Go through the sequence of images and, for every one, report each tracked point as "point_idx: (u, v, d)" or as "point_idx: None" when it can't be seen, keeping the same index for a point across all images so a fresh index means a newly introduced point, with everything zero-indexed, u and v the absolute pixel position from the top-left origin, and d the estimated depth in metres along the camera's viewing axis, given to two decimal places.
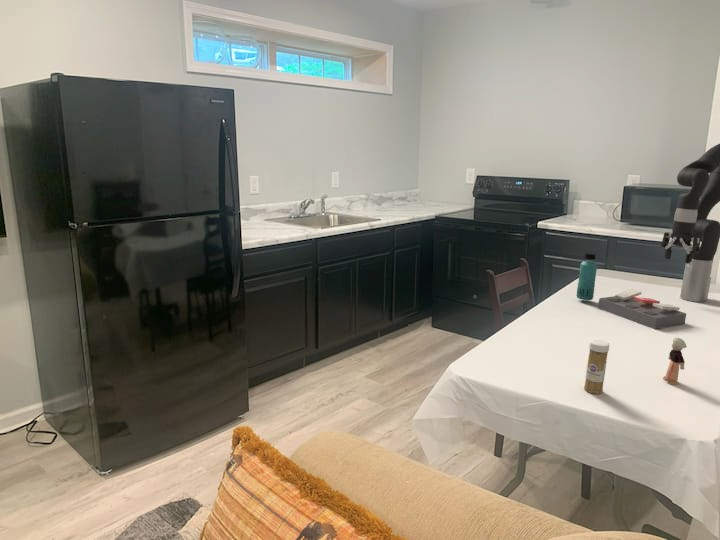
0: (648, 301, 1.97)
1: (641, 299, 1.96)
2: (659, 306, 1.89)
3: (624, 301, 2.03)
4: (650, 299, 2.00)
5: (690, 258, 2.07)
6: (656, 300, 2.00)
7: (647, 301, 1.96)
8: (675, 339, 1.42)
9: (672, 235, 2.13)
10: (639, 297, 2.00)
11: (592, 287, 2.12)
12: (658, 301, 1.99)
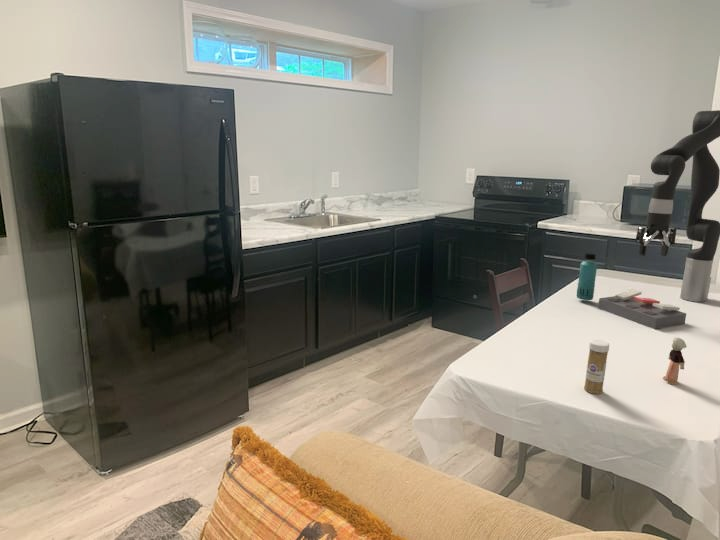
0: (648, 301, 1.97)
1: (641, 299, 1.96)
2: (659, 306, 1.89)
3: (624, 301, 2.03)
4: (650, 299, 2.00)
5: None
6: (656, 300, 2.00)
7: (647, 301, 1.96)
8: (675, 339, 1.42)
9: (651, 229, 1.93)
10: (639, 297, 2.00)
11: (592, 287, 2.12)
12: (658, 301, 1.99)
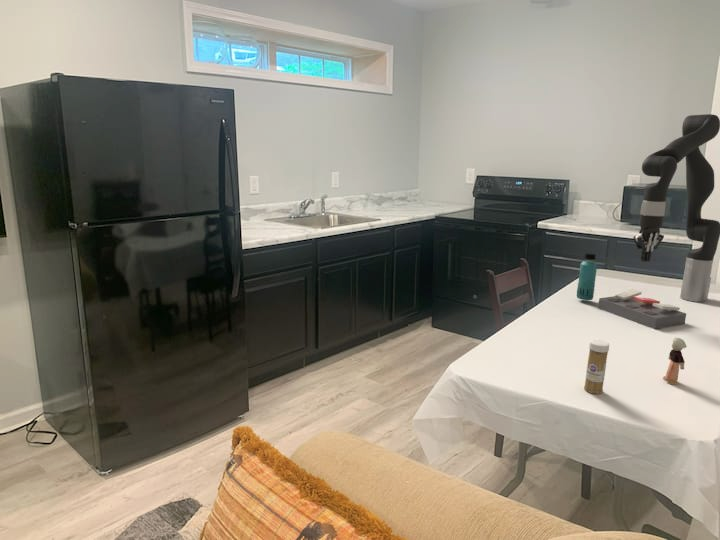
0: (648, 301, 1.97)
1: (641, 299, 1.96)
2: (659, 306, 1.89)
3: (624, 301, 2.03)
4: (650, 299, 2.00)
5: None
6: (656, 300, 2.00)
7: (647, 301, 1.96)
8: (675, 339, 1.42)
9: (645, 232, 1.89)
10: (639, 297, 2.00)
11: (592, 287, 2.12)
12: (658, 301, 1.99)
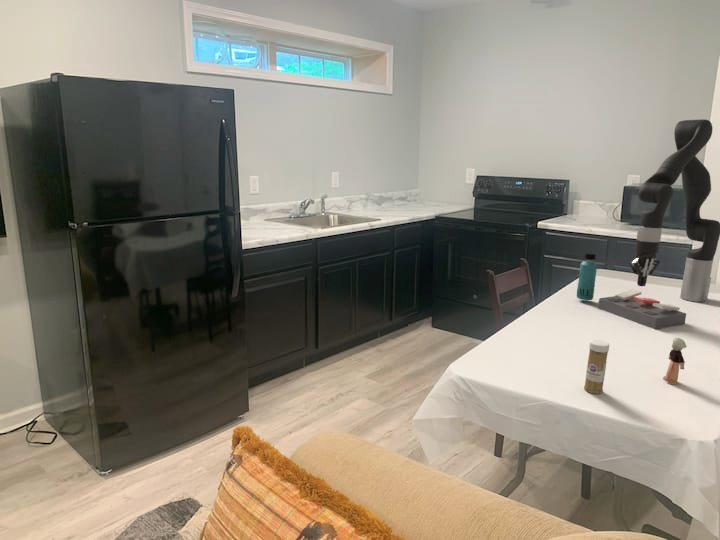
0: (648, 301, 1.97)
1: (641, 299, 1.96)
2: (659, 306, 1.89)
3: (624, 301, 2.03)
4: (650, 299, 2.00)
5: None
6: (656, 300, 2.00)
7: (647, 301, 1.96)
8: (675, 339, 1.42)
9: (641, 258, 1.91)
10: (639, 297, 2.00)
11: (592, 287, 2.12)
12: (658, 301, 1.99)
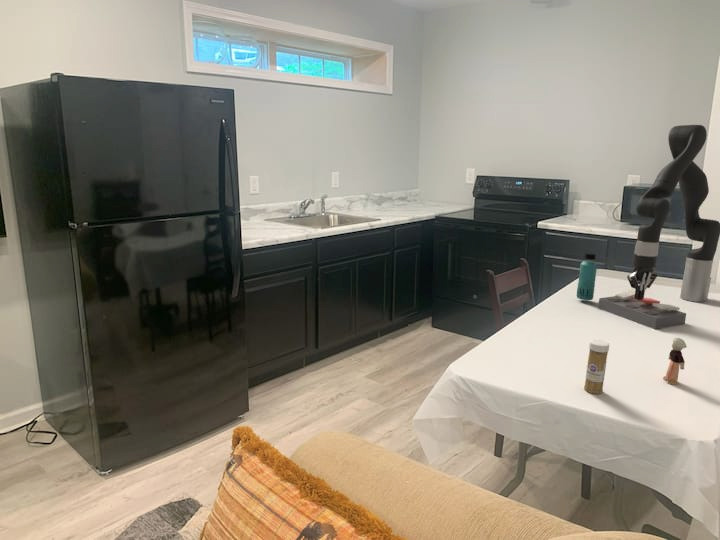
0: (648, 301, 1.97)
1: (641, 299, 1.96)
2: (659, 306, 1.89)
3: (624, 301, 2.03)
4: (650, 299, 2.00)
5: None
6: (656, 300, 2.00)
7: (647, 301, 1.96)
8: (675, 339, 1.42)
9: (639, 272, 1.92)
10: None
11: (592, 287, 2.12)
12: (658, 301, 1.99)
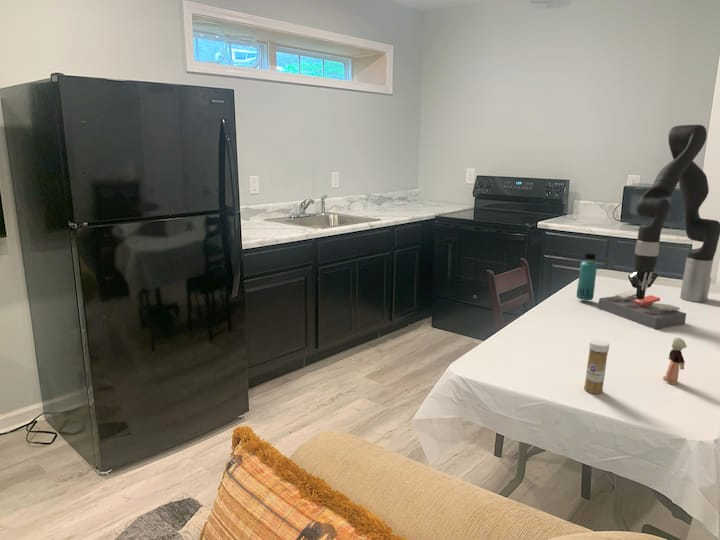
0: (647, 302, 1.97)
1: (640, 303, 1.96)
2: (659, 306, 1.89)
3: (624, 301, 2.03)
4: (650, 298, 2.00)
5: None
6: (656, 297, 2.00)
7: (646, 303, 1.96)
8: (675, 339, 1.42)
9: (640, 272, 1.92)
10: None
11: (592, 287, 2.12)
12: (658, 298, 1.98)
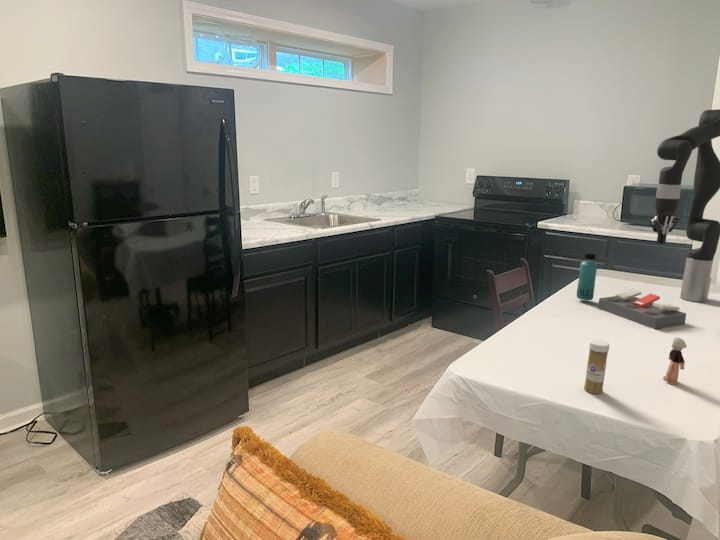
0: (647, 303, 1.97)
1: (640, 305, 1.96)
2: (659, 306, 1.89)
3: (624, 301, 2.03)
4: (649, 297, 1.99)
5: None
6: (656, 295, 1.99)
7: (646, 304, 1.96)
8: (675, 339, 1.42)
9: (661, 215, 1.93)
10: (638, 299, 2.00)
11: (592, 287, 2.12)
12: (658, 297, 1.98)
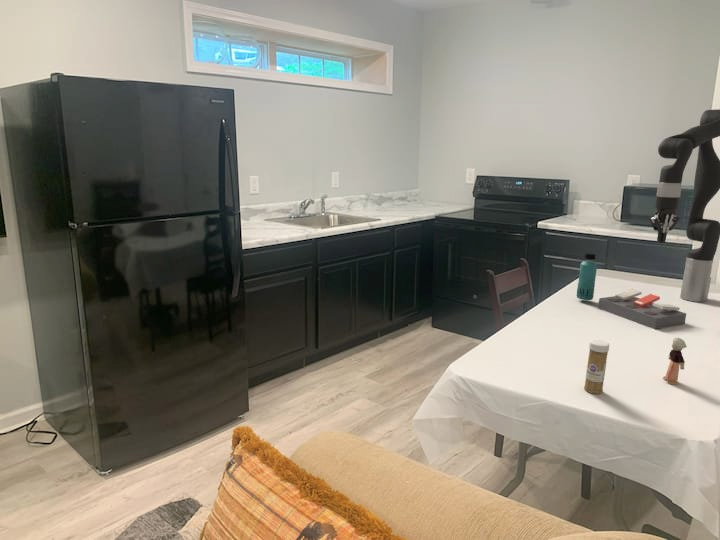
0: (647, 303, 1.97)
1: (640, 304, 1.96)
2: (659, 306, 1.89)
3: (624, 301, 2.03)
4: (649, 297, 1.99)
5: None
6: (656, 296, 1.99)
7: (646, 303, 1.96)
8: (675, 339, 1.42)
9: (661, 214, 1.93)
10: (638, 299, 2.00)
11: (592, 287, 2.12)
12: (658, 297, 1.98)
